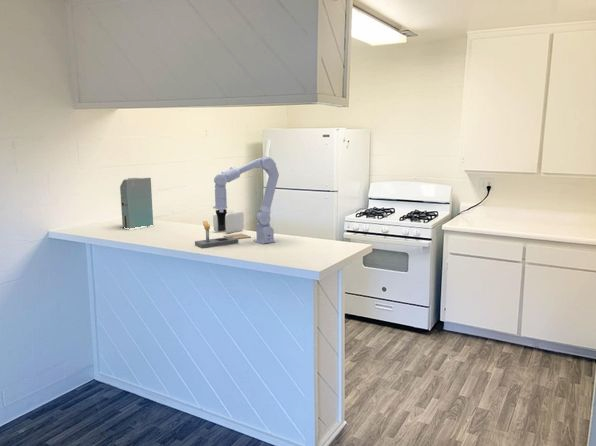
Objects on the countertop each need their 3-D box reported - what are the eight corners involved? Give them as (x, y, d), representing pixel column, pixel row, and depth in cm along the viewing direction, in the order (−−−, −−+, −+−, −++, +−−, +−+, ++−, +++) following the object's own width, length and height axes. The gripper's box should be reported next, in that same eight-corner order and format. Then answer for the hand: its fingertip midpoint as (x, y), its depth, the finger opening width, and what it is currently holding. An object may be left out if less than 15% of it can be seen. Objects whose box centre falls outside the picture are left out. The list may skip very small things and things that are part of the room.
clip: (210, 229, 246) (209, 225, 245) (204, 229, 245) (204, 225, 245) (207, 224, 258) (207, 221, 258) (202, 225, 258) (202, 221, 257)
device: (146, 225, 308) (143, 177, 303) (153, 226, 303) (150, 177, 298) (122, 228, 295) (119, 178, 290) (129, 230, 290) (126, 179, 285)
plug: (227, 230, 251) (226, 214, 249) (219, 231, 249) (219, 215, 247) (223, 229, 254) (223, 214, 253) (216, 230, 252) (215, 214, 251)
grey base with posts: (238, 243, 253) (237, 227, 251) (202, 248, 242) (201, 231, 240) (230, 240, 260) (229, 225, 259) (195, 245, 249) (194, 229, 247)
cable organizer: (225, 234, 276) (225, 214, 274) (212, 232, 283) (212, 212, 281) (244, 230, 288) (243, 211, 286) (231, 228, 294) (230, 209, 292)
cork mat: (250, 237, 267) (250, 236, 267) (232, 240, 261) (232, 238, 261) (241, 234, 276) (241, 233, 276) (223, 236, 270) (223, 235, 270)
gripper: (212, 196, 255) (213, 222, 257) (212, 199, 241) (213, 227, 243) (226, 196, 256) (227, 221, 258) (227, 199, 242) (228, 226, 244)
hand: (221, 224), depth 251 cm, fingers closed on plug, 4 cm apart
